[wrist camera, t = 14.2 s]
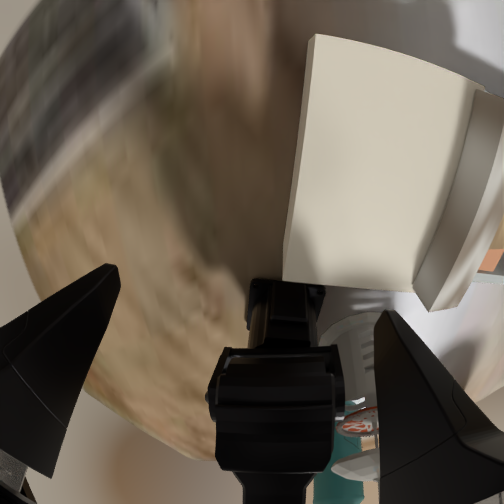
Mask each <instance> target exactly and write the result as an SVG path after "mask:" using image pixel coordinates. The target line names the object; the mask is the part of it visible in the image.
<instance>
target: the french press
mask: <svg viewBox="0 0 504 504" xmlns="http://www.w3.org/2000/svg"><path fill="white" fill-rule="evenodd" d="M381 313H382V312H365V313H361V314H357V315H352V316H348V317H346V318H344V319H342V320H341V321H339V322H337V323H335V324H333V325H331V326H330V327H329V329H328V330H327V331H326V332H325V333H324V334H323V335H322V336H321V338H320V341H319V345H318V346H330V344H337V345H338V350H339V355H340V360H341V365H342V370H343V376H344V383H345V401H351V400H358V399H360V398H362V397H365V401H364V402H362V403H360V404H357V405H350V406H347V405H345V410H346V411H354V410H358V411H355V412H353V413H351V414H349V415H347V416H346V415H344V419H343V422H338V424H337V426H336V430H337V433H339V434H341V435H344V436H346V437H347V436H348V437H350V436H351V437H352V436H353V437H356V438H357V437H360V436H363V437H364V436H366V437H367V436H369V437H370V436H371V435H372V436H373V435H374V436H375V446H376V449H371V450H366V451H363V452H359V453H356V454H352V455H349V456H346V457H344V458H341V459H339V460H337V461H336V462H335V463H334V464H333V465H332V467H331V470H332V471H333V472H334V473H336V474H338V475H340V476H342V477H344V478H346V479H350V480H358V481H375V482H378V489H379V500H380V478H381V477H380V450H379V448H378V439H377V434H378V435H379V426H378V411H377V398H376V386H375V376H374V337H373V330H374V326H375V324H376V322H377V320H378V319H379V317H380V315H381ZM364 407H366V408H364ZM361 408H364V409H361ZM359 409H360V410H359Z"/></svg>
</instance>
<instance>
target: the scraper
mask: <svg viewBox="0 0 504 504" xmlns="http://www.w3.org/2000/svg"><path fill="white" fill-rule="evenodd" d="M488 249H504V98H501V97H499V96H496V95H493V94H490V93H488V92H485V91H482V90H479V89H476V93H475V99H474V104H473V109H472V114H471V119H470V124H469V128H468V132H467V137H466V141H465V145H464V149H463V152H462V156H461V160H460V163H459V167H458V170H457V173H456V177H455V180H454V183H453V186H452V189H451V192H450V195H449V198H448V201H447V204H446V207H445V210H444V213H443V215H442V218H441V221H440V223H439V226H438V229H437V231H436V234H435V236H434V239H433V241H432V244H431V246H430V248H429V251H428V253H427V255H426V258H425V260H424V262H423V265H422V267H421V269H420V271H419V273H418V276H417V278H416V280H415V282H414V284H413V286H412V288H413V290H414V291H415V293H416V294H417V296H418V297H419V299H420V300H421V302H422V303H423V305H424V306H425V308H426V309H427V311H428V312H434V311H439V310H444V309H449V308H454V307H457V306H458V304H459V303H460V301H461V299H462V298H463V296H464V294H465V293H466V291H467V289H468V287H469V286H470V284H471V282H472V280H473V278H474V276H475V275H476V273H477V271H478V269H479V267H480V265H481V263H482V261H483V259H484V257H485V255H486V253H487V251H488Z"/></svg>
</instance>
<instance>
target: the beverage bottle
mask: <svg viewBox="0 0 504 504" xmlns="http://www.w3.org/2000/svg"><path fill="white" fill-rule="evenodd" d="M345 405H347V406H350V405H356V404H355V403H354V402H352V401H345ZM355 411H358V410H354V411H346V410H345V414H344V415H346V416H347V415H349V414H351V413H353V412H355ZM337 424H338V422H335V430H334V449H333V452H332V454H331V460H330V461H329V463H328V465H327V466H326V468H325V470H324V471H323V472H322V473H317V475H316V476H315V477H314V497H313V498H314V499H313V504H360V503H361V502H362V500H363V499H364V493H363V481H358V480H350V479H346V478H344V477H342V476H340V475H338V474H336V473H334V472H333V471H332V470H331V467H332V465H333V464H334V463H335V462H336V461H337V460H339V459H341V458H344V457H346V456H349V455H352V454H356V453H359V452H362V449H361V448H363V447H361V445H362V444H361V439H362V438H360V437H357V438H356V437H353V436H352V437H351V436H350V437H348V436H347V437H346V436H344V435H341V434H339V433H337V430H336V426H337Z"/></svg>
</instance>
